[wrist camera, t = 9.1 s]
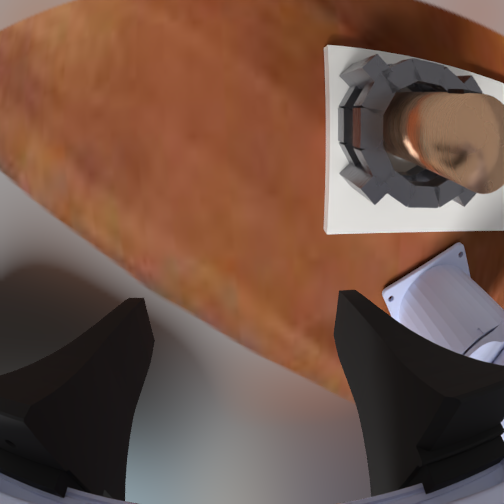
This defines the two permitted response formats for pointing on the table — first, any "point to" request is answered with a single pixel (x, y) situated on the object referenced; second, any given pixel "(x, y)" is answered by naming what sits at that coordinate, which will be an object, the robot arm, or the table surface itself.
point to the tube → (449, 135)
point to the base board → (389, 209)
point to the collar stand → (371, 131)
